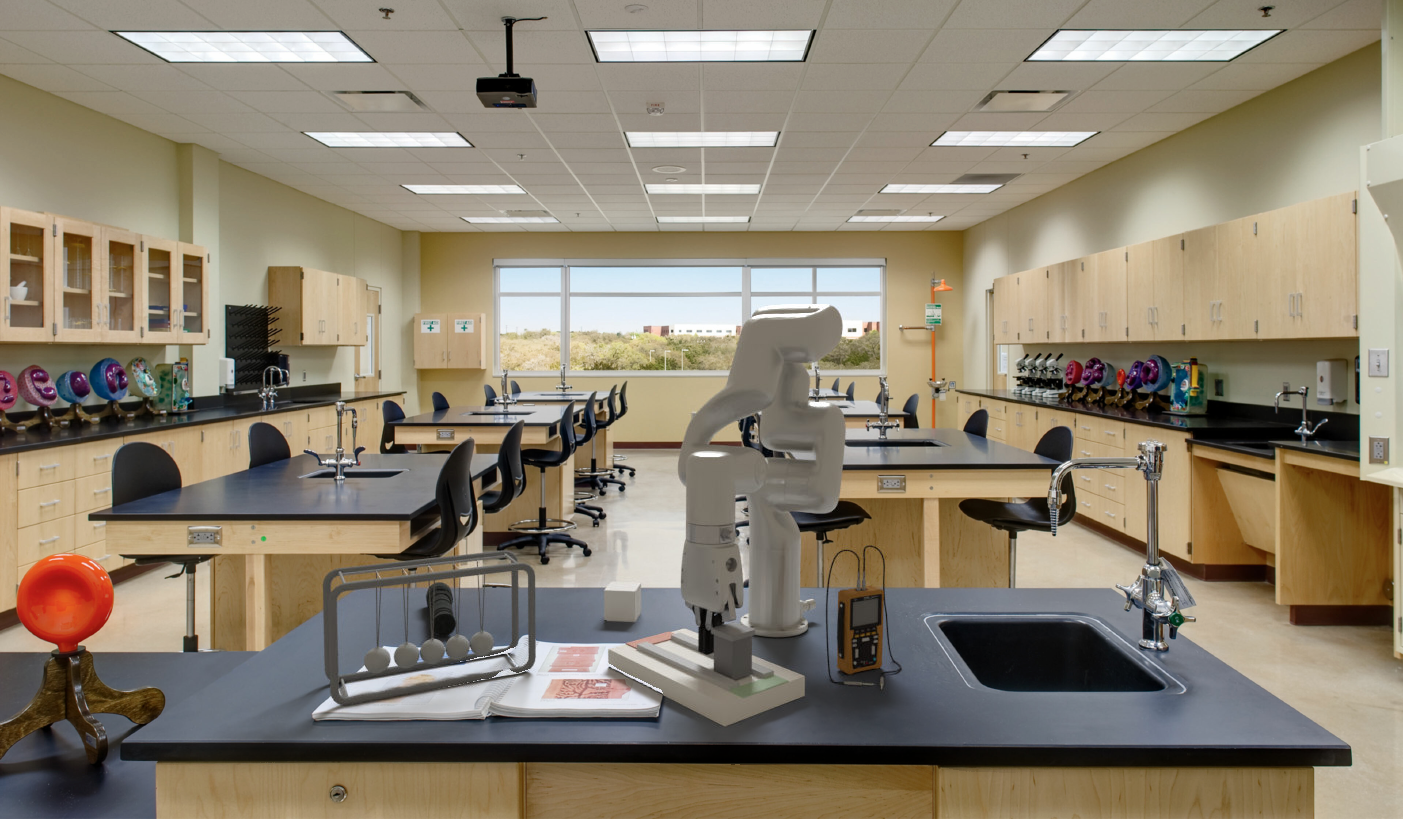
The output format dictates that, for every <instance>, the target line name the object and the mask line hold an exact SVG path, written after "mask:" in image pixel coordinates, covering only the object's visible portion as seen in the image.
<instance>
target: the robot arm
mask: <svg viewBox="0 0 1403 819" xmlns="http://www.w3.org/2000/svg"><path fill="white" fill-rule="evenodd" d="M843 325H844V324H843V317H842V316H841V313H840V311H839V310H838V308H836V307H835V306H833V305H831V304H779V305H776V304H775V305H768V306H767V305H766V306H763V307H760V308H758V309H756V310H755V311H754V312H753V313H752V315H751V317H750V318H749V319H747V320H745V322H744V323H743V325H742V328H741V331H740V333H739V337H738V341H737V343H736V348H735V351H734V356H733V358H732V362H731V366H730V370H729V373H728V377H727V381H726V384H725V386H724V387H723V389H721V390H720V391H719V392H717V393H715V394H714V395H713V396H712V397H711V398H709V399H708V400H707V402H706V403H704V404H703V405H702V406H701V407H700V408H699V410H698V411H696V413H695V414H694V415H693V417H692V418H691V419H690V421H689V423H688V425H687V427H686V430H685V434H684V437H683V440H682V443H681V447H680V452H679V456H678V459H677V460H678V461H677V473H678V474H677V475H678V478H679V480H680V482H681V484H682V485H683V486H684V487H685V539H684V545H683V551H682V558H681V567H680V592H681V593H680V594H681V597H682V599H683V600H684V604H685V607H686V608H688V609H689V610H691V611H692V613H693V614H694V617H695V618H694V620H695V624H696V626H697V627H698V628H697V629H698V631H697V633H698V651H699V652H700V653H703V654H705V655H709V654H712V653H714V634H711V628H714V627H717V626H721V625H724V624H725V623H731V622H735V621H736V620H737V612H736V609H741V608H743V607H744V606H743V605H744V596H745V595H744V574H743V564H742V557H741V552H740V547H739V544H737V543H736V538H737V535H738V534H737V532H736V500H737V499H736V496H738V495H739V496H740V495H745V497H746V501H747V502H746V504H747V511H748V532H749V534H748V536H749V537H748V540H749V541H748V542H749V543H748V544H749V545H748V613H745V614H744V615H743V616H741V617H740V619H739V624H741V625H744V626H747V627H749V628H752V629H755V635H754V636H760V637H768V638H786V637H787V638H788V637H794V636H798V635H801V634H804V633H805V632H806V631H807V630H808V628H809V622H808V620H807V619H806V618H805V617H804V614H805V613H806V612H807V611H811V610H814V609H816V607H817V603H816V601H815V599H813V598H810V599H806V600H801V552H802V551H801V550H802V549H801V546H802V544H801V542H802V538H801V532H800V528H799V526H798V523H797V522H796V520H795V518H794V517H793V515H792V514H791V512H798V513H799V512H801V513H808V514H809V513H811V514H828V513H832V511H833V510H835V509H836V507H837V506H838V503H839V501H840V494H841V489H842V488H841V487H842V479H843V478H842V477H843V476H842V475H843V466H844V458H845V457H844V456H845V446H846V433H847V432H846V431H847V430H846V429H847V428H846V420H845V416H844V413H843V410H842V409H841V408H840V407H839V406H838V405H836V404H834V403H831V402H824V401H821V402H820V401H809V396H810V387H811V386H810V385H811V377H810V374H809V372H808V370H807V368H806V367H805V365H804V364H813V363H817V362H819V361H820V360H822V359H824V358H825V357H826V356H827V355H829V354H830V353H831V352H833V351H834V350H836V347H838V345H839V343H840V342H841V339H842V337H843V336H842V335H843V327H844V326H843ZM759 412H761V413H760V422H759V441H760V443H761V445H762V446H763V447H764V448H766V449H768V450H771V451H775V452H782V453H797V454H799V453H800V454H811V455H815V459H799V458H797V459H796V458H792V457H791V458H790V457H788V458H787V457H770V456H769V457H765V455H764V454H763V453H762V452H761V451H759V450H758V449H756V448H753V447H749V446H736V445H735V446H734V445H725V444H723V445H721V444H710V443H711V441H712V440H713V438H714V437H715V436H716V434H718V432H720V431H721V430H723V429H724V428H725V427H727V426H729V425H731V424H733V423H735V422H738V421H740V420H743V419H745V418H748V417H750V416H753V415H755V414H758V413H759Z"/></svg>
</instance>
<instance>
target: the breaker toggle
mask: <svg viewBox="0 0 1403 819" xmlns="http://www.w3.org/2000/svg"><path fill="white" fill-rule="evenodd" d="M711 634H714V671H715V672H717V673H719V674H721V675H724V676H726V677H728V678H730V679H733V680H737V679H740V678H743V677H746V676H749V675H752V655H753V636H756V635H755V629H752V628H749V627H747V626H744V625H741V624H740V623H738V622H736V621H731V622H727V623H724V625H721V626H717V627H714V628H711Z"/></svg>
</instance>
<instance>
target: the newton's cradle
mask: <svg viewBox="0 0 1403 819" xmlns="http://www.w3.org/2000/svg"><path fill="white" fill-rule="evenodd" d="M506 558H507V560H509V561H510V562H509V563H502V564H491V565H484V564H482V562H480V561H487V560H496V559H497V560H498V559H506ZM469 562H470V563H471V562H476V566H475V567H467V568H460V567H458V566H457V565H456V564H459V563H469ZM450 564H451V565H452V569H450V570H449V569H448V570H440V571H433V569H432V568H431V567H433V566H441V565H442V566H444V565H450ZM479 564H480V565H482V566H479ZM425 567H427V572H423V573H416V574H413V573H412V574H408V573H407V572H406V571H405V570H406V569H414V568H415V569H416V568H425ZM455 567H456V568H457V569H455ZM399 570H401V572H402V575H398V576H390V577H381V576H380V575H379V572H381V573H382V572H389V571H399ZM430 570H431V571H432V572H431V571H430ZM519 571H524V572H526V574H527V602H528V604H527V606H528V607H527V614H528V615H527V616H528V617H527V618H528V622H527V625H528V626H527V627H528V628H527V629H528V632H527V634H528V645H527V646H528V659H527V661H526V663H524V664H523V665H521V666H520V665H519V666H518V667H509V668H508V669H510V670H511V671H513V672H516V673H519V672H522V671H525V670H528V669H530V670H531V669H532V667H534V664H535V662H536V658H537V656H536V654H537V650H536V646H537V644H536V640H537V636H536V635H537V634H536V631H537V630H536V573H535V570H534V568H533V567H532V566H531V565H530V564H528V563H526V562H519V560H518V557H517V555H516V554H515V553H514V552H513V551H510V550H506V549H505V550H496V551H488V552H487V551H486V552H478V553H468V554H458V555H450V556H448V555H447V556H440V557H431V558H423V559H413V560H412V559H411V560H403V561H402V560H401V561H395V562H383V563H374V564H368V565H356V566H349V567H347V566H346V567H340V568H335V569H333V570H331V571H329V572H328V573H327V574H326V575H325V577H324V579H323V581H322V607H323V608H322V609H323V610H322V611H323V613H322V614H323V615H322V616H323V647H324V648H323V650H324V651H323V653H324V656H323V657H324V674H325V677H326V678H327V679H328V680H329V688H330V690H329V693H330V697H331V698H332V700H333V701H334V702H335V703H336V704H337V705H340V706H352V705H357V704H362V703H368V702H372V701H379V700H384V699H389V698H396V697H400V696H407V695H410V694H411V695H412V693H413V694H417V693H423V691H424V692H428V691H433V690H434V689H435V690H439V689H438V688H440V689H444V688H443V687H446V688H449V687H448V686H451V687H454V686H453V685H457V686H460V685H459V684H462V685H464V684H463V683H467V682H473V681H477V680H481V679H489V678H492V677H494V676H496V675H497V674H498V673H499V672H501V671H503V669H499V670H494V671H493V670H492V671H489V672H487V671H486V672H482V673H477V674H476V673H475V674H471V675H464V676H458V677H455V678H449V679H442V680H437V681H431V682H425V683H420V684H413V685H409V686H403V687H397V688H392V689H386V690H381V691H376V692H370V693H364V694H358V695H352V696H349V692H348V690H347V687H346V684H345V683H347V682H353V681H358V680H364V679H370V678H375V677H376V678H377V677H382V676H388V675H395V674H401V673H406V672H412V671H417V670H425V669H429V668H436V667H441V665H442V666H447V665H446V664H448V665H452V664H451V663H454V664H458V663H457V662H460V661H466V660H470V659H474V658H477V657H483V656H484V657H485V656H490V655H494V654H498V653H501V652H504V651H506V650H508V649H510V648H514V647H516V646H518V644H519V638H520V634H519V633H520V630H519V629H520V627H519V621H520V620H519V617H520V616H519V612H520V611H519ZM507 572H508V573H509V572H510V573H511V577H510V578H511V580H510V582H511V642H510V644H509V645H508V646H507V647H503V648H496V649H493V648H494V647H495V646H494V644H495V640H494V638H493V636H492V634H491V633H489V632H487V631H484V611H485V608H484V607H485V588H486V587H485V585H486V584H485V583H486V575H490V574H499V573H507ZM372 573H375V578H371V579H370V578H369V579H363V580H361V579H360V580H354V581H353V580H352V581H346V580H345V578H344V576H354V575H355V576H356V575H362V574H363V575H364V574H372ZM481 575H483V594H482V595H483V596H482V598H483V599H482V609H481V595H480V592H481V591H480V578H479V577H480V576H481ZM474 576H477V585H478V588H477V590H478V608H479V623H480V631H479V632H478V631H477V632H476V633H475V634H473V635H472V636H471V638H470V640H468V638H467V637H466V636H464V635H460V634H459V628H460V627H459V626H460V602H461V601H460V595H461V578H466V577H474ZM337 577H339V579H340V580H341V582H342V583H341V584H339V585H337V586H335V587H334V588H333V589H332V582H333V580H335V578H337ZM457 578H458V580H459V581H458V606H457V601H456V600H457V599H456V584H455V580H456V579H457ZM449 579H450V580H451V579H452V580H453V595H454V596H453V597H454V598H453V600H454V618H455V621H456V627H455V632H456V633H455V635H453V636H451V637H450V638H449V639H448V640H447V641H446V642H445V645H444V643H443V642H442V641H441V640H439V639H436V638H434V634H435V633H434V595H435V583H436V581H441V580H449ZM422 582H423V583H424V582H428V588H429V601H430V609H429V616H430V617H429V618H430V619H429V620H430V635H431V636H430V639H428V640H425V641H424V642H423V643H422V644H421V646H420V649H419V647H417V645H415V644H414V643H411V642H409V641H408V636H409V635H408V634H409V633H408V632H409V628H408V627H409V624H408V623H409V584H415V583H422ZM430 582H433V584H434V592H433V631H432V620H431V600H430V586H431V583H430ZM399 585H402V594H403V595H402V596H403V612H404V613H403V614H404V616H403V617H404V638H405V641H404V643H402V644H399V645H398V646H397V648H396V649H395V651H394V653H393V662H394V664H396V665H394V666H390V664H391V661H392V660H391V654H390V652H389V651H388V650H387V649H386V648H383V647H380V646H379V645H380V625H381V624H380V623H381V621H380V620H381V619H380V618H381V602H382V600H381V599H382V588H383V587H390V586H399ZM405 585H407V587H406V588H407V589H406V590H407V591H406V593H407V596H406V597H405ZM378 588H379V605H378ZM365 589H366V590H367V589H375V601H376V602H375V606H376V608H375V609H376V611H375V613H376V614H375V615H376V618H375V619H376V621H375V622H376V623H375V624H376V647H373V648H371V649H370V650H369V651H367V653H366V654H365V656H364V661H363V664H364V667H365V669H366V670H363V671H358V672H351V673H348V674H347V673H345V674H340V673H339V638H338V637H339V636H338V635H339V634H338V631H339V630H338V597H339V596H340V595H341V594H342V593H344V592H348V591H349V592H351V591H357V590H365ZM405 599H407V600H405ZM378 606H379V607H378ZM457 608H458V610H457ZM481 610H482V612H481ZM481 613H482V614H481ZM516 648H517V647H516ZM470 650H471V652H472V653H469V652H470ZM445 654H446V655H447V657H444V656H445ZM420 658H421V660H422V661H419V659H420ZM466 662H467V661H466ZM460 663H461V662H460ZM528 671H529V670H528ZM339 683H341V687H342V689H343V694H344V695H341V693H340V684H339ZM473 683H474V682H473Z"/></svg>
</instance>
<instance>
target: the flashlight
mask: <svg viewBox="0 0 1403 819" xmlns="http://www.w3.org/2000/svg"><path fill="white" fill-rule="evenodd" d="M433 592H434V583H432V584H430V600H431V620H432V631H433ZM453 597H454V596H453V592H452V589H451V588H450V586H449V585H448V584H446V583H444V582H440V581H438V582H435V595H434V633H433V634H435V635H437V636H439V637H442V638H446V637H448V636H450V635H452V633H453V632H454V631H455V630H456V618H455V614H454V611H453V602H454V598H453ZM425 599H426V606H427V608H428V609H429V610H430V601H429V587H428V588H427V591H426V594H425Z"/></svg>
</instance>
